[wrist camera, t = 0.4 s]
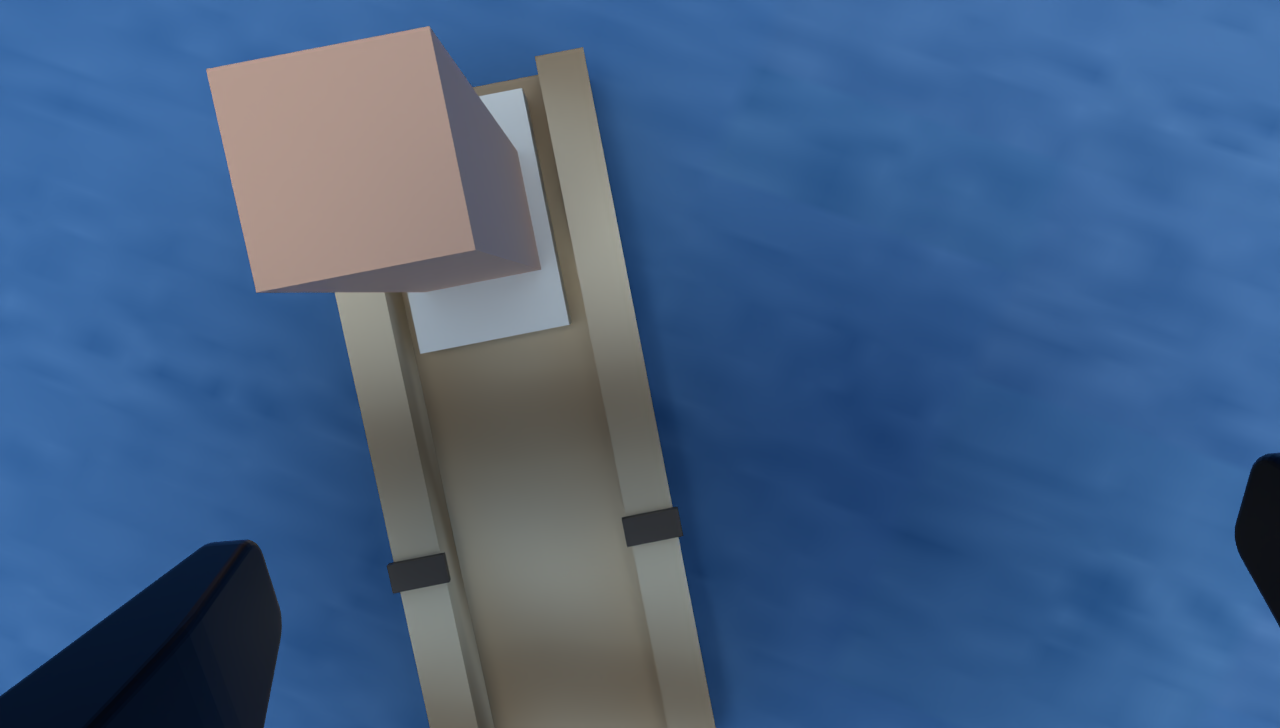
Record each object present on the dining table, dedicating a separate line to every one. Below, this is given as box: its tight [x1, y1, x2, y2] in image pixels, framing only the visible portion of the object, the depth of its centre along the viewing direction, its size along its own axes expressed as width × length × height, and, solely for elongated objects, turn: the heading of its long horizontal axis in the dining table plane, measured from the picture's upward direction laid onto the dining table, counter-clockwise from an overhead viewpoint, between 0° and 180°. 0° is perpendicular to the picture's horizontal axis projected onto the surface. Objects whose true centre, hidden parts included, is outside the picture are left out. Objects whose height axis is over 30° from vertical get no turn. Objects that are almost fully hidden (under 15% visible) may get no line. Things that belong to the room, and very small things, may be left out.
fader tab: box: [206, 26, 572, 354], centre depth 16 cm, size 5×3×11 cm, turn 11°
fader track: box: [335, 47, 716, 728], centre depth 22 cm, size 16×6×3 cm, turn 11°
